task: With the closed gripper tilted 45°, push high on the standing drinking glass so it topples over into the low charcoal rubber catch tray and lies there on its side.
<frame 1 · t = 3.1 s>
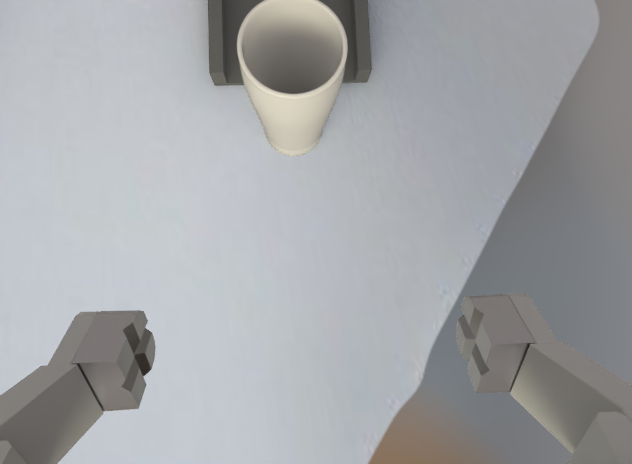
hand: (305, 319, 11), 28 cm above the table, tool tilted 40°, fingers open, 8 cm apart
catch tray: (289, 18, 42), on the table
drinking glass: (293, 130, 41), on the table
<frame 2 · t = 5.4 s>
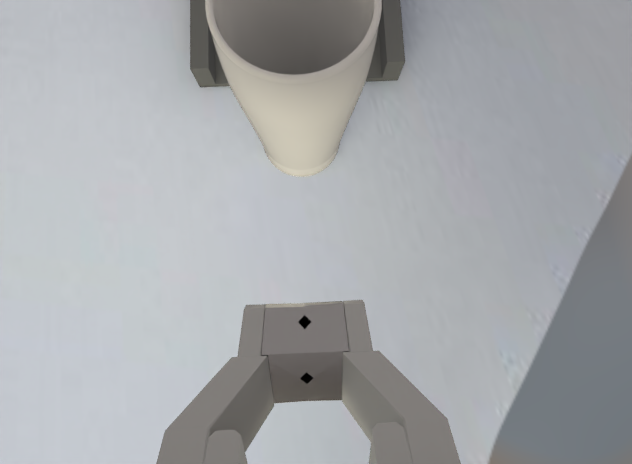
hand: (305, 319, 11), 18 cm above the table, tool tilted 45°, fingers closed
catch tray: (295, 2, 32), on the table
drinking glass: (301, 144, 31), on the table
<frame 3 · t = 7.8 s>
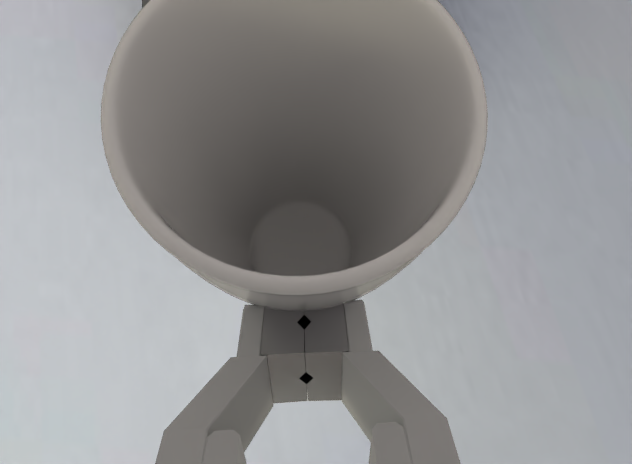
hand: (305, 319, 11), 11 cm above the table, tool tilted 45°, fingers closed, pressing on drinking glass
drinking glass: (301, 256, 22), on the table, touching gripper
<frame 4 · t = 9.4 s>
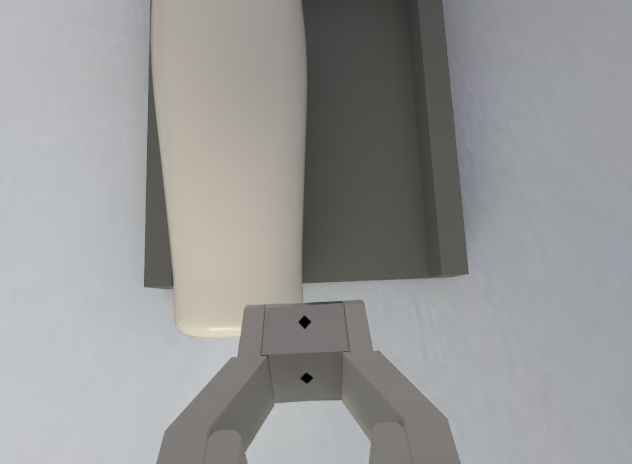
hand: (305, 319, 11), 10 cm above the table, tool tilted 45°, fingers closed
catch tray: (303, 158, 23), on the table
drinking glass: (241, 335, 18), point 3 cm above the table, touching catch tray
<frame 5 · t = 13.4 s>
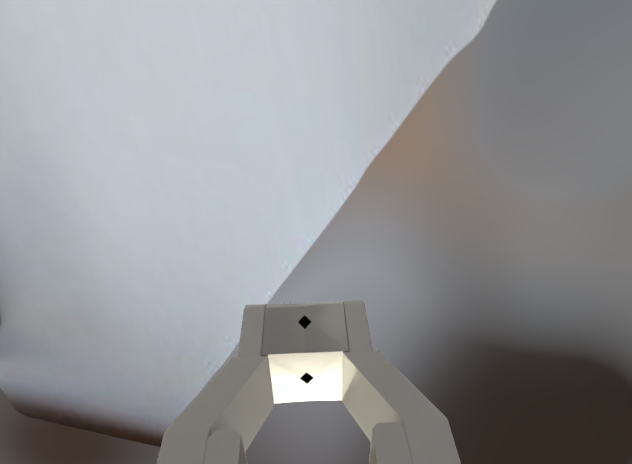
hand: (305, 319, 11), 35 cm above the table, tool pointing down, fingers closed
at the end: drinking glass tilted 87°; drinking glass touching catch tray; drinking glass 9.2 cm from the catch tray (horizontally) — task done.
